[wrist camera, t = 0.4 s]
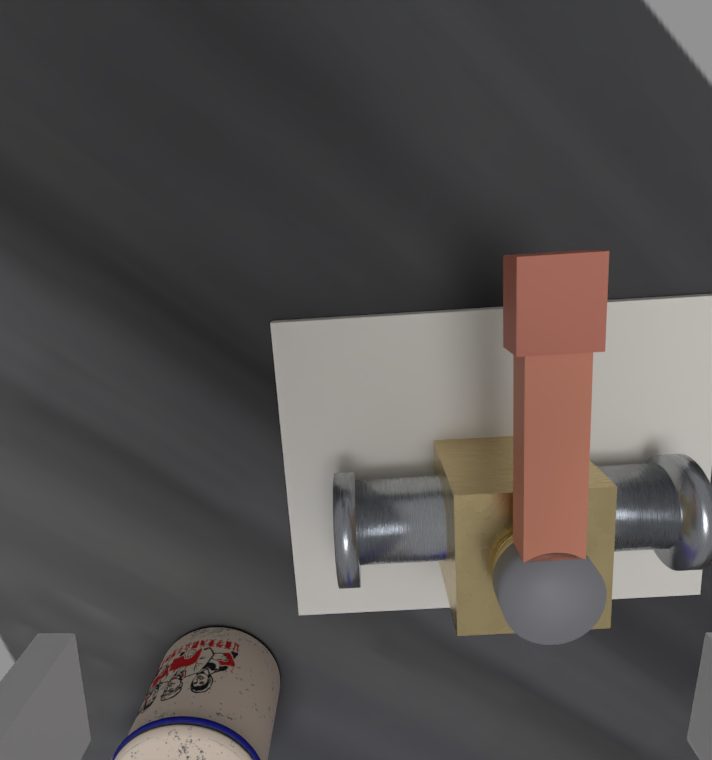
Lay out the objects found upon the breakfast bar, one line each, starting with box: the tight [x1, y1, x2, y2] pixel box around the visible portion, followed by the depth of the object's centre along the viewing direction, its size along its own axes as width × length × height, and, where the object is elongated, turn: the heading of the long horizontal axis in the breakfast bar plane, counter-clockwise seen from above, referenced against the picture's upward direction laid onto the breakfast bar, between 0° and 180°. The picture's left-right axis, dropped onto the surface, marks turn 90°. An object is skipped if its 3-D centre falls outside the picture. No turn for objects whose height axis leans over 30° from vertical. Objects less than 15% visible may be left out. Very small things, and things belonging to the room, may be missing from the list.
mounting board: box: [270, 294, 712, 615], centre depth 37 cm, size 20×27×1 cm
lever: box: [492, 250, 609, 645], centre depth 26 cm, size 18×5×2 cm, turn 4°
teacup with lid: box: [111, 627, 280, 760], centre depth 36 cm, size 12×9×12 cm
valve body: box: [333, 436, 712, 636], centre depth 33 cm, size 8×20×9 cm, turn 94°
